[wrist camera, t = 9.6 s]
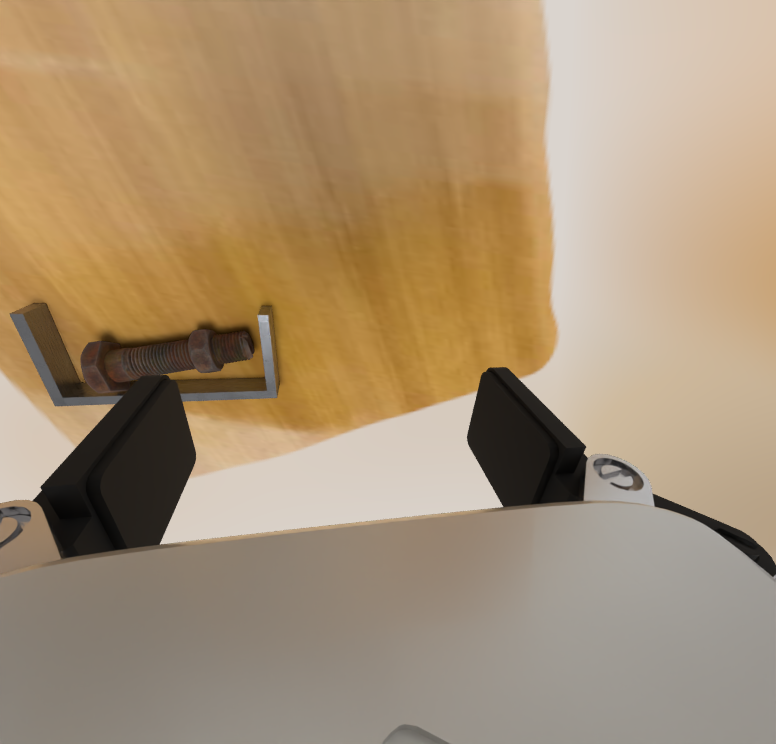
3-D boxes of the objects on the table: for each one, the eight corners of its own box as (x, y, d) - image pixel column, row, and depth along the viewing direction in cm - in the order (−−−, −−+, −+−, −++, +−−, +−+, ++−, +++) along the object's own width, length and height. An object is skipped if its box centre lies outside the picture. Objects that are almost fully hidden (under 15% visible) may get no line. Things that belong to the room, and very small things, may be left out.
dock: (33, 303, 33) (9, 313, 30) (271, 305, 37) (268, 315, 34) (73, 390, 37) (55, 406, 35) (279, 384, 42) (277, 397, 39)
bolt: (257, 337, 40) (120, 358, 38) (242, 308, 36) (87, 331, 34) (258, 378, 37) (111, 404, 35) (243, 353, 33) (73, 381, 31)
